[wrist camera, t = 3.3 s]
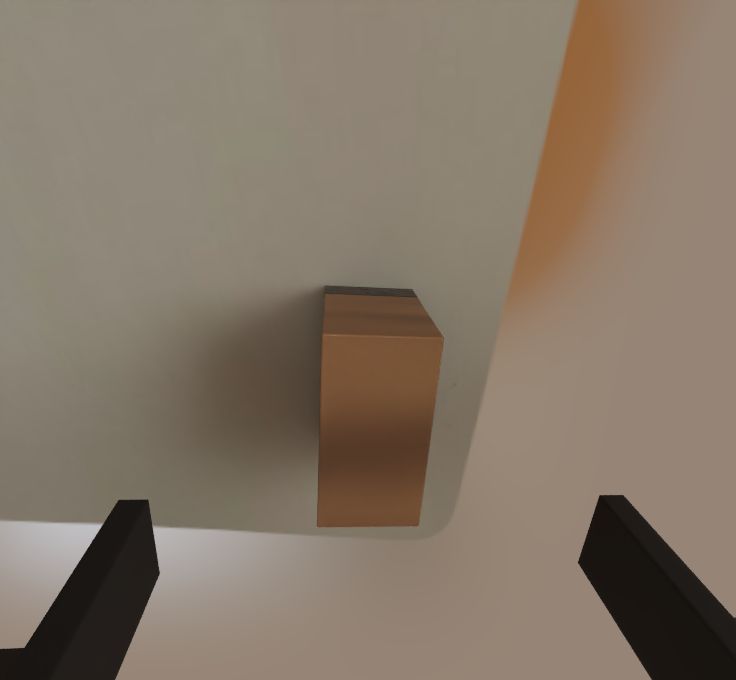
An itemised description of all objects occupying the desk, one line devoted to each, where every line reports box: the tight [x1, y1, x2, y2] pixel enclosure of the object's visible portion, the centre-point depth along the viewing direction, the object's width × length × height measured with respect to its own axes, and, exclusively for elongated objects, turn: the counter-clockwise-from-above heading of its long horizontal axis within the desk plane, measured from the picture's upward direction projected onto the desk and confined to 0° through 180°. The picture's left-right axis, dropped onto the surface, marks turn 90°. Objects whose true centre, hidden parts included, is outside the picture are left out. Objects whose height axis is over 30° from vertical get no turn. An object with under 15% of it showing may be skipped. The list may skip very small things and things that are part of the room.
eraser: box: [317, 286, 444, 527], centre depth 21 cm, size 9×4×7 cm, turn 176°
